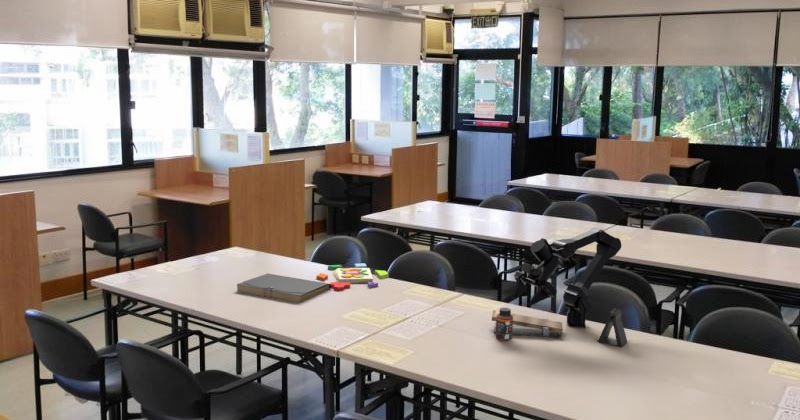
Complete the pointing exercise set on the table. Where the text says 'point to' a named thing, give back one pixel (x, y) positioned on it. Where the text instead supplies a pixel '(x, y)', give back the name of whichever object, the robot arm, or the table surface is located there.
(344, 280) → the pattern blocks set
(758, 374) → the table surface
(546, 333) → the beam stand
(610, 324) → the grey a-frame stand
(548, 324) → the balance beam
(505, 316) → the supplement bottle
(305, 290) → the file folder
